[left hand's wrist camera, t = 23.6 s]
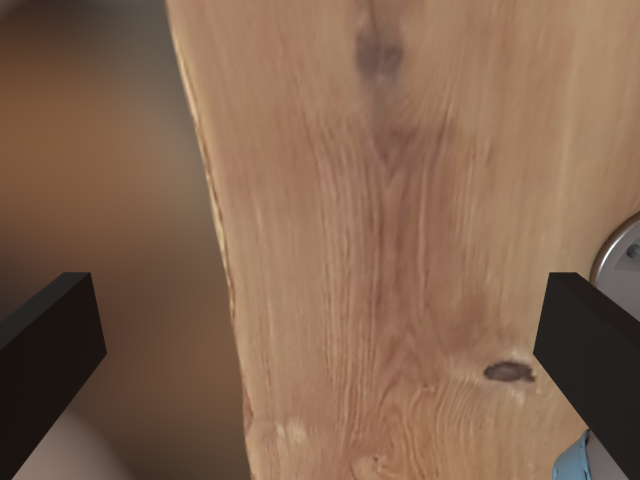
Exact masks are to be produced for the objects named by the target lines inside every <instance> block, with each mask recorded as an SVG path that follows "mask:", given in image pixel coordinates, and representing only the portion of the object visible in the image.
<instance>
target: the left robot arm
mask: <svg viewBox="0 0 640 480" xmlns="http://www.w3.org/2000/svg"><path fill="white" fill-rule="evenodd" d="M106 354H107V351H106V346H105V341H104V336H103V332H102V327H101V322H100V317H99V312H98V307H97V302H96V297H95V292H94V288H93V283H92V278H91V273H90V272H82V273H81V272H71V273H70V272H64V273H62V274H61V275H60V276H58V277H57V278H56V279H55V280H53V281H52V282H51V283H49V284H48V285H47V286H46V287H44V288H43V289H42V290H40V291H39V292H38V293H37V294H35V295H34V296H33V297H31V298H30V299H29V300H28V301H26V302H25V303H24V304H22V305H21V306H20V307H19V308H17V309H16V310H15V311H13V312H12V313H11V314H10V315H8V316H7V317H6V318H4V319H3V320H2V321H0V480H12V478H13V477H14V476H15V474H16V473H17V472H18V470H19V469H20V468H21V466H22V465H23V464H24V462H25V461H26V460H27V458H28V457H29V456H30V454H31V453H32V452H33V451H34V449H35V448H36V447H37V445H38V444H39V443H40V441H41V440H42V439H43V437H44V436H45V435H46V433H47V432H48V431H49V429H50V428H51V427H52V426H53V424H54V423H55V422H56V420H57V419H58V418H59V416H60V415H61V414H62V412H63V411H64V410H65V408H66V407H67V406H68V404H69V403H70V402H71V401H72V399H73V398H74V397H75V395H76V394H77V393H78V391H79V390H80V389H81V387H82V386H83V385H84V383H85V382H86V381H87V379H88V378H89V377H90V376H91V374H92V373H93V372H94V370H95V369H96V368H97V366H98V365H99V364H100V362H101V361H102V360H103V358H104V357H105V356H106ZM533 354H534V356H535V357H536V358H537V360H538V361H539V362H540V364H541V365H542V366H543V368H544V369H545V370H546V372H547V373H548V374H549V376H550V377H551V378H552V380H553V381H554V382H555V383H556V385H557V386H558V387H559V389H560V390H561V391H562V393H563V394H564V395H565V397H566V398H567V399H568V401H569V402H570V403H571V405H572V406H573V407H574V408H575V410H576V411H577V412H578V414H579V415H580V416H581V418H582V419H583V420H584V422H585V423H586V424H587V426H588V427H589V429H587V430H586V431H584V432H583V434H582V436H581V438H580V439H578V440H577V441H576V442H575V443H574V444H573V445H571V446H570V447H569V448H568V449H567V450H566V451H564V452H563V453H562V454H560V455H559V457H558V458H557V459H556V461H555V463H554V466H553V470H552V480H640V212H639V213H637V214H635V215H634V216H632V217H631V218H629V219H628V220H627V221H625V222H624V223H623V224H621V225H620V226H619V227H618V228H617V229H616V230H615V231H614V232H613V233H612V234H611V235H610V236H609V238H608V239H607V240H606V241H605V243H604V244H603V246H602V247H601V249H600V250H599V252H598V254H597V256H596V258H595V260H594V263H593V265H592V269H591V272H590V277H589V282H588V281H587V280H585V279H584V278H583V277H582V276H580V275H579V274H578V273H576V272H550V273H549V278H548V283H547V288H546V292H545V297H544V302H543V307H542V312H541V317H540V322H539V327H538V331H537V336H536V341H535V346H534V351H533Z"/></svg>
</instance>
